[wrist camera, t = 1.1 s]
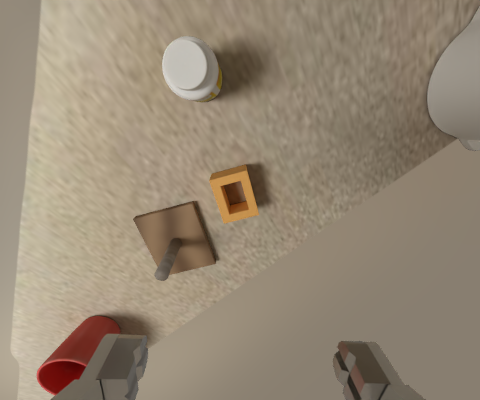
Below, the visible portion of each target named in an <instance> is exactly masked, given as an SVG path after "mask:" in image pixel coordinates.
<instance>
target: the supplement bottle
mask: <svg viewBox="0 0 480 400" xmlns="http://www.w3.org/2000/svg"><path fill="white" fill-rule="evenodd" d="M162 69H163V74H164V78H165V80H166V82H167V84H168V86H169V87H170V89H171V90H172V91H173V92H174V93H175V94H177V95H178V96H180V97H182V98H184V99H187V100H191V101H197V102H208V101H210V100H212V99H214V98H215V97H216V96H217V95H218V94H219V92H220V90H221V87H222V82H223V77H222V72H221V69H220V66H219V64H218V61H217V59H216V56H215V54H214V52H213V51H212V49H211V48H210V47H209V46H208V45H207V44H206V43H205V42H204V41H202V40H201V39H199V38H196V37H193V36H183V37H179V38H177V39H175V40H174V41H173V42H171V43H170V44H169V45H168V47H167V48H166V50H165V53H164V56H163V61H162Z"/></svg>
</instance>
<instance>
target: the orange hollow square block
mask: <svg viewBox="0 0 480 400" xmlns="http://www.w3.org/2000/svg"><path fill="white" fill-rule="evenodd" d="M209 181H210V184H211V187H212V190H213V193H214V196H215V199H216V202H217V204H218V207H219V210H220V213H221V216H222V219H223V222H224V223H228V222H232V221H236V220H240V219H244V218H248V217H252V216H256V215H259V213H258V208H257V204H256V200H255V197H254V193H253V189H252V185H251V182H250V178H249V174H248V171H247V167H246V165H242V166H239V167H235V168H231V169H228V170H224V171H220V172H217V173H213V174H212V175H211V177H210V180H209ZM238 181H241V183H242V187H243V190H244V194H245V197H246V201H244V202H241V203H237V204H233V205H230V204H229V200H228V197H227V194H226V191H225V188H224V185H227V184H230V183H234V182H238Z"/></svg>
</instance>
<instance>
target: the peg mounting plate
mask: <svg viewBox="0 0 480 400" xmlns="http://www.w3.org/2000/svg"><path fill="white" fill-rule="evenodd" d="M133 220H134V222H135V224H136V226H137V228H138V230H139V232H140V234H141V235H142V237H143V239H144V241H145V243H146V245H147V247H148V249H149V251H150V253H151V255H152V257H153V259H154V261H155V263H156V265H157V266H158V268H157V270H156V272H155V277H156V279H158V280H160V281H164V280H166V279H167V278H168V276H169V275H170V274H175V273H179V272H183V271H187V270H191V269H196V268H200V267H204V266H208V265H212V264H216V259H215V256H214V254H213V251H212V249H211V246H210V243H209V241H208V238H207V236H206V233H205V231H204V228H203V225H202V223H201V220H200V218H199V215H198V212H197V210H196V207H195V205H194V202H193V201H192V202H188V203H184V204H181V205H177V206H173V207H169V208H166V209H162V210H158V211H154V212H151V213H147V214H143V215H139V216H136V217H135V218H134V219H133Z"/></svg>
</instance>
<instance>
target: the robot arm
mask: <svg viewBox="0 0 480 400" xmlns="http://www.w3.org/2000/svg"><path fill="white" fill-rule="evenodd" d="M427 104H428V110H429V114H430V116H431V119H432V121H433V122H434V124H435V125H436V126H437V127H438V128H439V129H440V130H441V131H443V132H445V133H447V134H449V135H452V136H454V137H456V138H458V139H459V140H460V141H461V143H462V144H463V146H464V147H465V148H466V149H468V150H475V151H476V150H477V151H478V150H480V7H479V8H478V10H477V12H476V13H475V15H474V17H473V19H472V21H471V22H470V24H469V25H468V26H467V27H466V28H465V29H464V30H463V31H462V32H461V33H460V34H459V35H458V36H457V37H456V38H455V39H454V40H453V41H452V42H451V44H450V45H449V46H448V47H447V48H446V50H445V51H444V53H443V54H442V55H441V57H440V59H439V60H438V62H437V64H436V66H435V68H434V71H433V73H432V76H431V79H430V82H429V87H428V94H427ZM146 343H147V336H146V335H127V334H106V335H105V336H104V337H103V339H102V340H101V342H100V344H99V346H98V347H97V349H96V351H95V352H94V354H93V356H92V358H91V359H90V361H89V363H88V365H87V366H86V368H85V370H84V372H83V373H82V375H81V377H80V379H79V380H74V381H72V382H71V383H70V384H69V385H68V386H66V387H65V388H64V389H63V390H62V391H60V392H59V393H58V394H57V395H55V396H54V397H53V398H52V399H51V400H135V398H136V395H137V392H138V381H139V380H140V379H141V378H142V377H143V374H144V371H145V368H146V363H147V358H148V349H147V348H146V347H145V346H146ZM338 349H339V351H338V352H336V353H335V354H334V358H333V367H334V371H335V375H336V377H337V380H338V381H339V382H340V383H341V384H342V385H343V386H344V388H343V394H344V397H345V399H346V400H426V399H424V398H423V397H422V396H421V395H420V394H418V393H417V392H416V391H415V390H414V389H412V388H411V387H410V386H409V385H404V383H403V382H402V380H401V379H400V377H399V375H398V374H397V372H396V371H395V369H394V368H393V366H392V365H391V363H390V362H389V360H388V359H387V357H386V355H385V354H384V353H383V351H382V350H381V348H380V346H379V345H378V344H377V343H376V342H362V341H341V342H339V344H338Z"/></svg>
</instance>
